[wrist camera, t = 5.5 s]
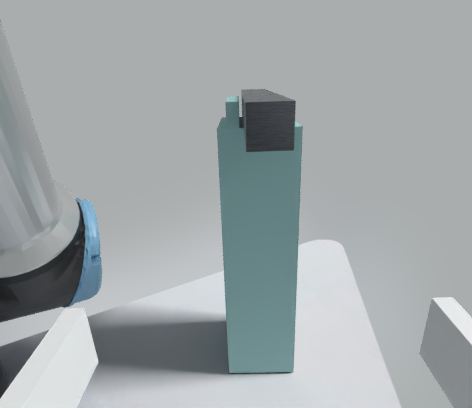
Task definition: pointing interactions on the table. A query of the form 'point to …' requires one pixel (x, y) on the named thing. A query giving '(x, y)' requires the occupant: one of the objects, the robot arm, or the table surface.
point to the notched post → (259, 247)
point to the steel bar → (268, 121)
